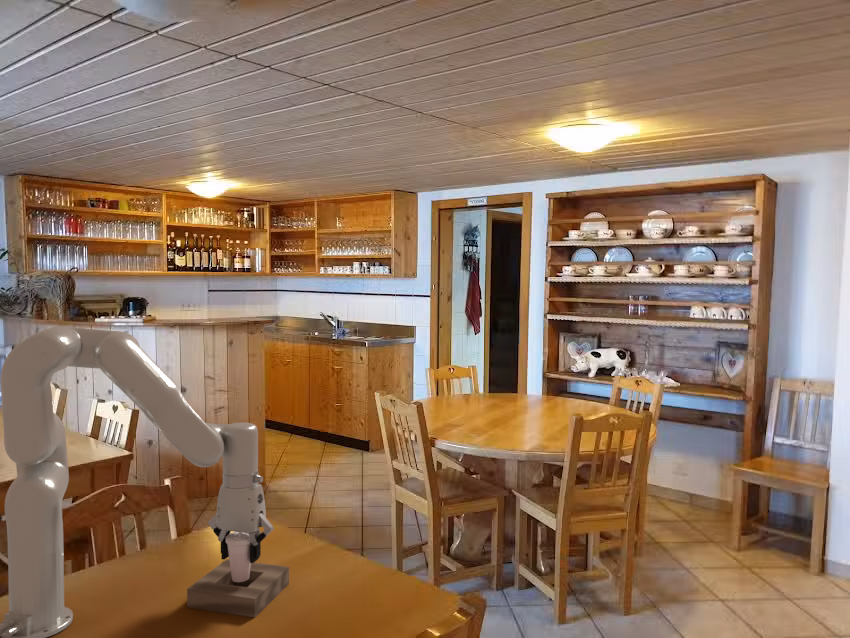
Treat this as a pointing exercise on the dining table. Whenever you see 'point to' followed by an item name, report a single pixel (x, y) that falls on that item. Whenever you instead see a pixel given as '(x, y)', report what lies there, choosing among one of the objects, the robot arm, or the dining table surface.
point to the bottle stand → (238, 589)
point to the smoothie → (239, 555)
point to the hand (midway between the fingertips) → (240, 558)
